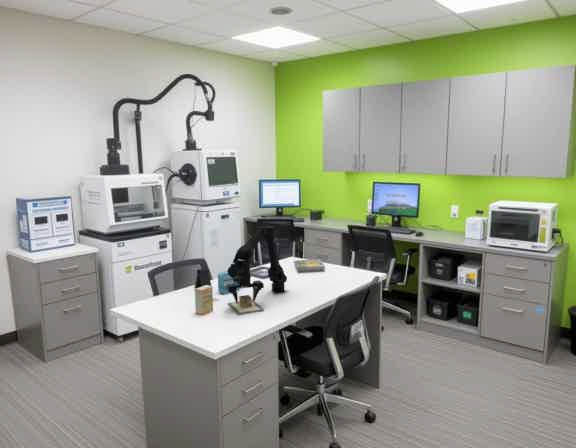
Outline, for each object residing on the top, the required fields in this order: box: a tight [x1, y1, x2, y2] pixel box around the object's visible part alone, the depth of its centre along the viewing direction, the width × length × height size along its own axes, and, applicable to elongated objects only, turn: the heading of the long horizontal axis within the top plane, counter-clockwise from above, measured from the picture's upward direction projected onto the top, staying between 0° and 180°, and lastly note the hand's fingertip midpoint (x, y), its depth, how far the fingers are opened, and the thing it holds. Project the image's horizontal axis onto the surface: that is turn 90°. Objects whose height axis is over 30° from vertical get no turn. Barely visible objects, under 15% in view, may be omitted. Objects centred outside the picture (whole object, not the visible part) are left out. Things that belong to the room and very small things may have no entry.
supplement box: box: [194, 285, 214, 316], centre depth 229 cm, size 8×5×13 cm, turn 148°
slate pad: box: [227, 299, 265, 316], centre depth 236 cm, size 14×18×1 cm
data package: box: [217, 270, 240, 295], centre depth 263 cm, size 12×4×12 cm, turn 133°
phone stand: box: [194, 267, 212, 289], centre depth 270 cm, size 9×6×12 cm, turn 49°
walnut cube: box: [238, 294, 253, 308], centre depth 236 cm, size 5×5×5 cm
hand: (245, 302), depth 236 cm, fingers open, 9 cm apart
